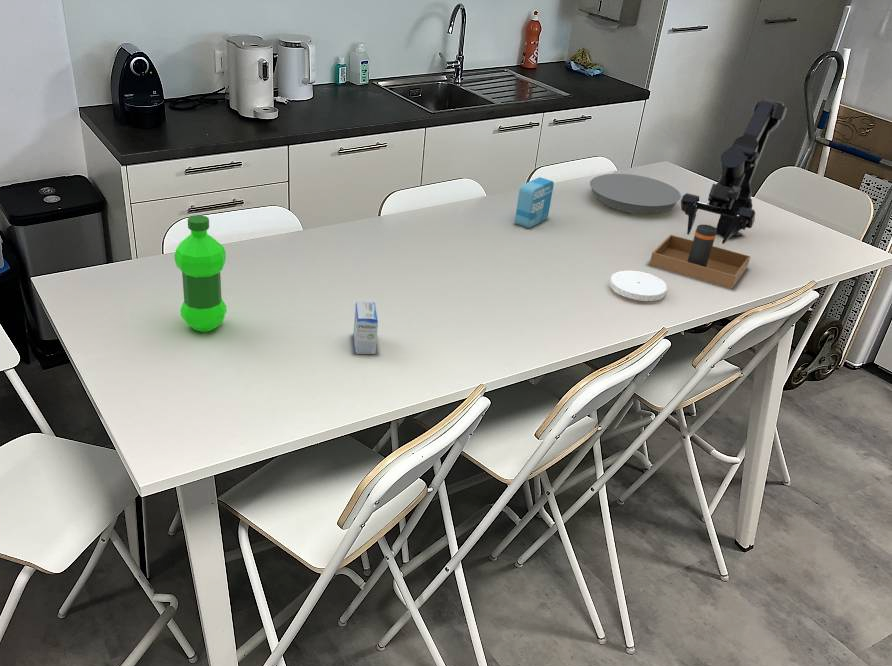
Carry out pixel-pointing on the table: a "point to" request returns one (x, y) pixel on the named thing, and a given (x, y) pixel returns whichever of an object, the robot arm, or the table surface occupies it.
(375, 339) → the medicine box
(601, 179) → the flat disc
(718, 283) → the brown wooden tray
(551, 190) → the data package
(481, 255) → the table surface
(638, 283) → the plastic lid
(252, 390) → the table surface
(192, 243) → the plastic bottle
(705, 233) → the dark grey cylinder
